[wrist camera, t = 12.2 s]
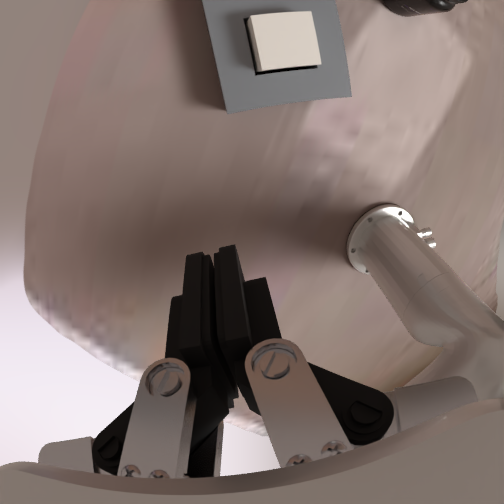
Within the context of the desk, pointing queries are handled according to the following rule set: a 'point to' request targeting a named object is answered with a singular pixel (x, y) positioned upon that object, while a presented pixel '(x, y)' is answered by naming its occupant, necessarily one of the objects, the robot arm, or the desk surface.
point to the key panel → (281, 83)
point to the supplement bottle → (420, 6)
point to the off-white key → (282, 40)
